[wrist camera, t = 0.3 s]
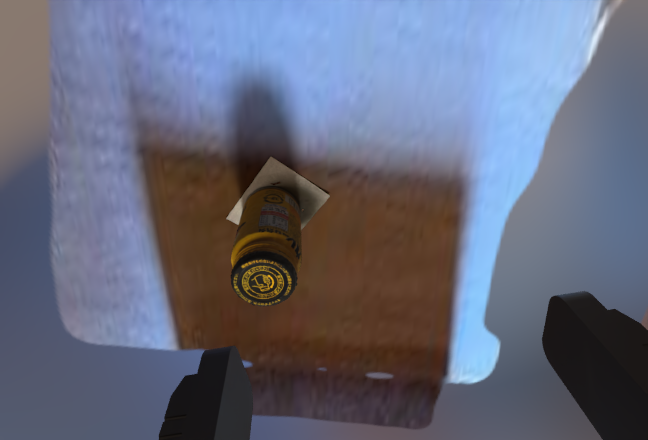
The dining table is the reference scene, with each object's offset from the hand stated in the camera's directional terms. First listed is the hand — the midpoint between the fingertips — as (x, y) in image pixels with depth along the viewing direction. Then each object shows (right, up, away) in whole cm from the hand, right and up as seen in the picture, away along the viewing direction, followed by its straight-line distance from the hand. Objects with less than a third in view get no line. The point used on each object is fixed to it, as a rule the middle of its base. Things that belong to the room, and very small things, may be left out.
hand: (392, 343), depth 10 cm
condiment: (-7, +5, +31) cm, 32 cm away
